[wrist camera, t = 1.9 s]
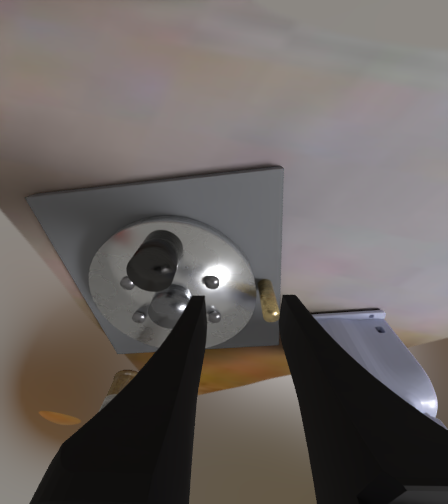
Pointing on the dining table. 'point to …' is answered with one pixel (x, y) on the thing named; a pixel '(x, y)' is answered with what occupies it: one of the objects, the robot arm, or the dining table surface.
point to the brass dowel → (268, 301)
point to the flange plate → (187, 273)
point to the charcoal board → (180, 205)
